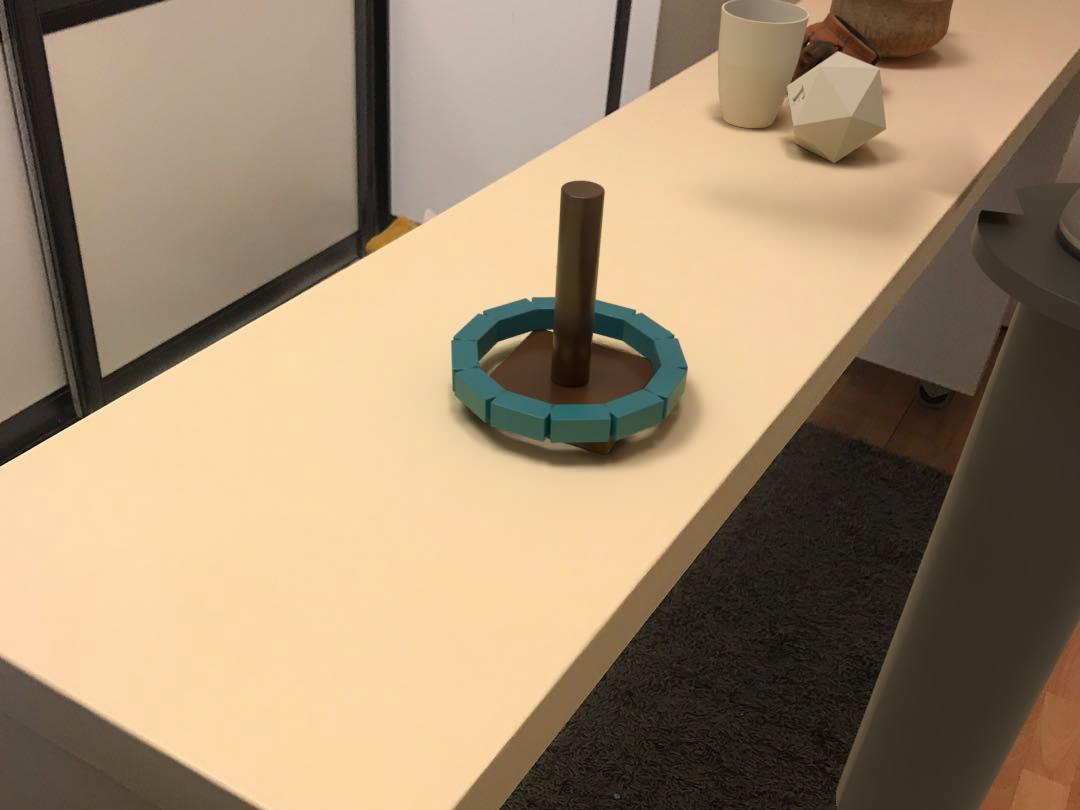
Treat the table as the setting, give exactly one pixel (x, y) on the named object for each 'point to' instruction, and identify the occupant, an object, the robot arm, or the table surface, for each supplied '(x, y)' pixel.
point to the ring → (569, 418)
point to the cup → (757, 58)
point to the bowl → (897, 23)
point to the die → (837, 106)
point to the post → (574, 324)
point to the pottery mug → (833, 44)
